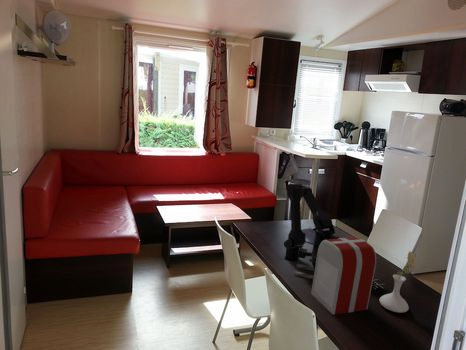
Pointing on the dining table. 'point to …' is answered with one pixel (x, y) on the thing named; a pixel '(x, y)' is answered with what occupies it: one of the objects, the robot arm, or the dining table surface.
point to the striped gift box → (344, 274)
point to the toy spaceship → (309, 235)
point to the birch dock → (304, 273)
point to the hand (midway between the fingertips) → (315, 273)
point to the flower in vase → (394, 298)
